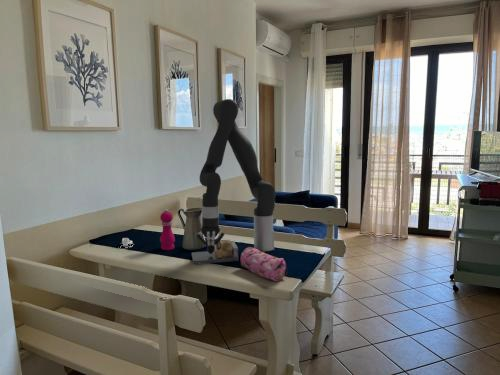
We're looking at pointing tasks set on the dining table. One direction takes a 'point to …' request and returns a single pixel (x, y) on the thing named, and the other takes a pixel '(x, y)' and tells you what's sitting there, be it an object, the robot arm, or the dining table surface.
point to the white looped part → (126, 242)
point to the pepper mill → (167, 231)
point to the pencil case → (263, 264)
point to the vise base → (214, 256)
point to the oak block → (226, 247)
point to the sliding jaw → (218, 250)
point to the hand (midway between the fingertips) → (210, 253)
